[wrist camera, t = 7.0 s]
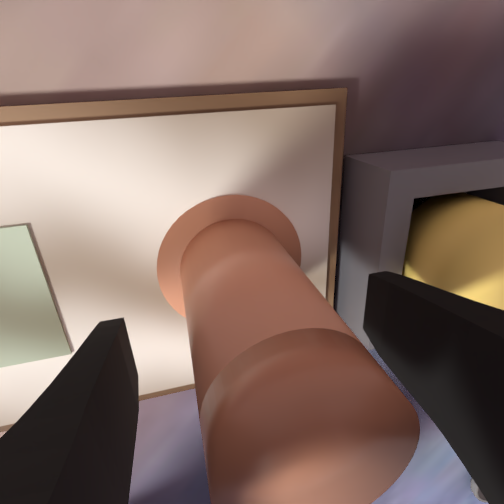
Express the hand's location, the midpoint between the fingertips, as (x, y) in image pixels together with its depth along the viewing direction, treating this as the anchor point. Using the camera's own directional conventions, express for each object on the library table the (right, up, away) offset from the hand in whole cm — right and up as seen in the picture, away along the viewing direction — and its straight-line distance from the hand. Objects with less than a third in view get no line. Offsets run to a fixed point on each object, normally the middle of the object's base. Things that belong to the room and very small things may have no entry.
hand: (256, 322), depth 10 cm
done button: (+8, +2, +4) cm, 9 cm away
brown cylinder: (-1, +1, +3) cm, 4 cm away
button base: (+7, +3, +6) cm, 10 cm away
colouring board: (-5, +1, +3) cm, 6 cm away
